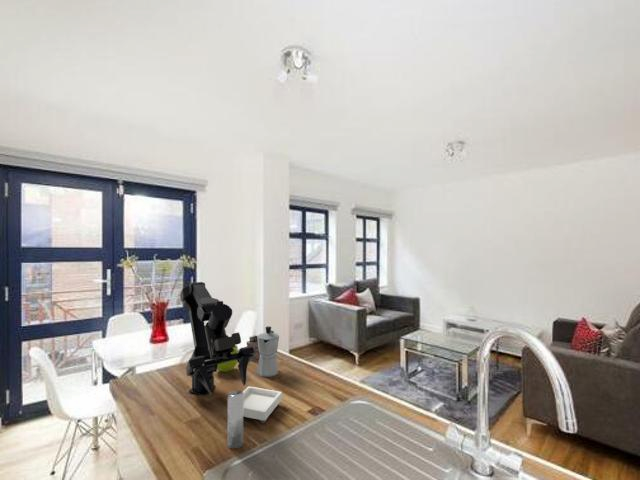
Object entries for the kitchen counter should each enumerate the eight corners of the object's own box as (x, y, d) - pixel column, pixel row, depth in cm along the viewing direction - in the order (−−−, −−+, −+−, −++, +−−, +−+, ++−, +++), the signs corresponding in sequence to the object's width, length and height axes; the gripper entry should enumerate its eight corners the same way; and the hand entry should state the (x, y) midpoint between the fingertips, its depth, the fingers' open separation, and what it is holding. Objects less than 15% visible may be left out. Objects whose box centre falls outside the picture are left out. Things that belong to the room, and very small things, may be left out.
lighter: (247, 360, 135) (247, 337, 135) (245, 358, 138) (245, 335, 138) (265, 357, 139) (265, 335, 138) (263, 355, 142) (263, 332, 142)
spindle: (224, 447, 81) (224, 397, 81) (232, 437, 85) (233, 389, 84) (237, 450, 80) (238, 399, 79) (246, 440, 84) (246, 392, 83)
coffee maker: (276, 379, 118) (277, 332, 118) (253, 379, 118) (253, 331, 118) (281, 363, 133) (282, 321, 133) (261, 362, 133) (261, 320, 133)
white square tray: (228, 418, 93) (228, 404, 93) (248, 398, 105) (248, 386, 105) (264, 426, 90) (264, 412, 90) (281, 404, 101) (281, 391, 101)
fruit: (234, 375, 121) (234, 350, 121) (210, 375, 121) (210, 349, 121) (240, 365, 130) (241, 341, 130) (218, 365, 130) (218, 341, 130)
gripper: (188, 329, 86) (198, 386, 77) (253, 319, 96) (268, 368, 87) (182, 349, 92) (191, 403, 83) (243, 337, 103) (257, 385, 94)
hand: (228, 389), depth 87 cm, fingers open, 9 cm apart
